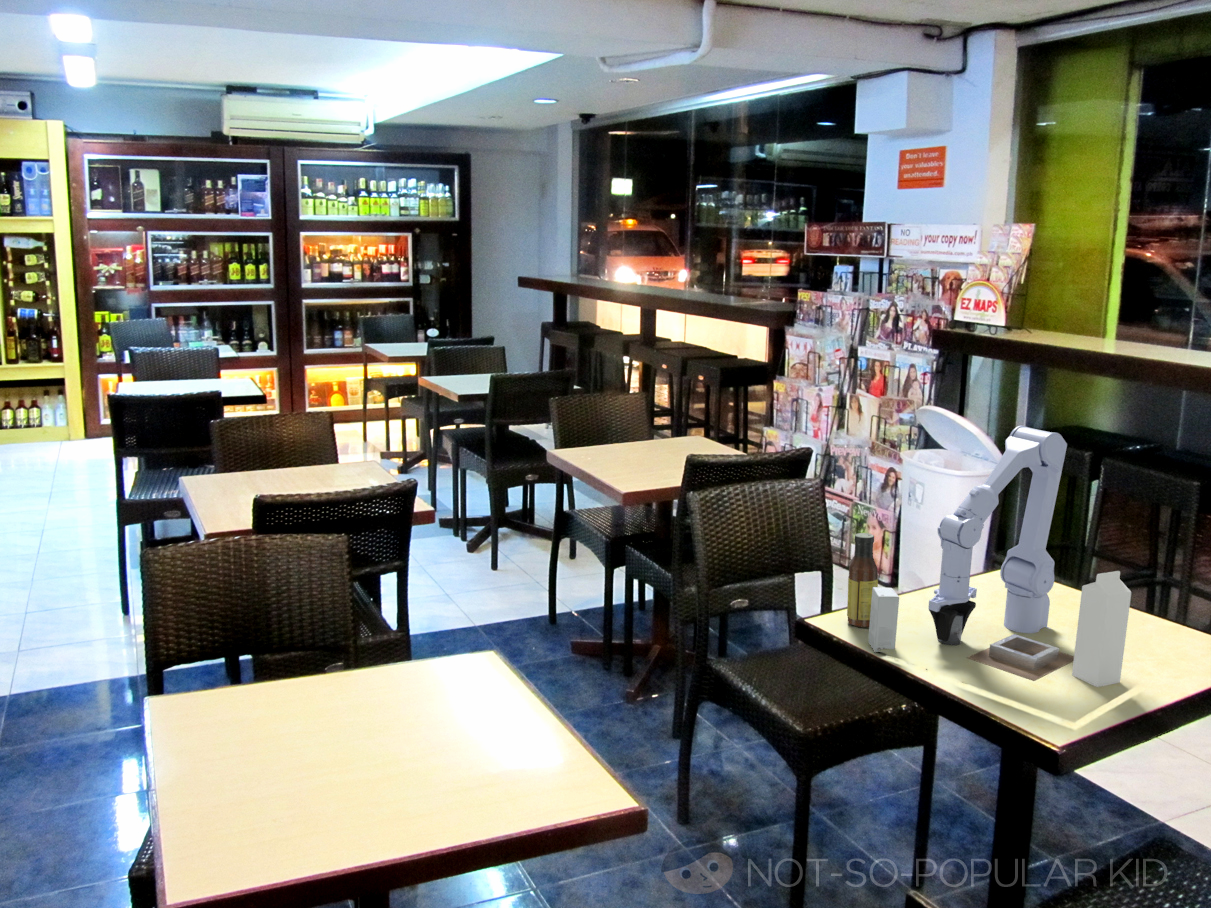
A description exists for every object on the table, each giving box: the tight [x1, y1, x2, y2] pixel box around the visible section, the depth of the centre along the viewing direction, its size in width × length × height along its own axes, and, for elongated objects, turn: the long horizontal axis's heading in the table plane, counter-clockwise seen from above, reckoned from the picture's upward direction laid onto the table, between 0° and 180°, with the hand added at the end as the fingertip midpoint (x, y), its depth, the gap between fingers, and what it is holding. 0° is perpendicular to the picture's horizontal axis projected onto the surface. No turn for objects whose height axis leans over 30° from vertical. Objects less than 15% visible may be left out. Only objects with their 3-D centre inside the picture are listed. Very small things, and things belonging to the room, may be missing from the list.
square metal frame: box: [989, 633, 1060, 671], centre depth 209 cm, size 9×9×2 cm
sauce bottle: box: [846, 532, 879, 629], centre depth 227 cm, size 7×6×20 cm
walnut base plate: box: [966, 647, 1074, 682], centre depth 209 cm, size 18×14×1 cm
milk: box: [1071, 570, 1132, 688], centre depth 198 cm, size 6×6×22 cm
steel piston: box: [937, 610, 963, 646], centre depth 216 cm, size 4×4×7 cm
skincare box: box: [867, 586, 900, 653], centre depth 214 cm, size 6×4×12 cm
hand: (949, 637), depth 217 cm, fingers closed on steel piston, 4 cm apart
